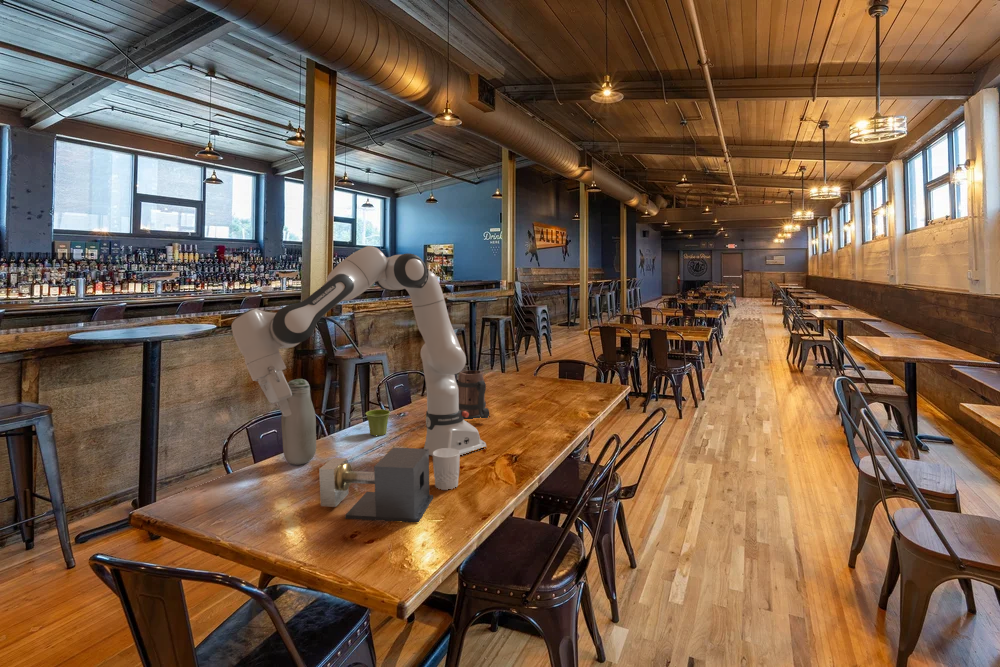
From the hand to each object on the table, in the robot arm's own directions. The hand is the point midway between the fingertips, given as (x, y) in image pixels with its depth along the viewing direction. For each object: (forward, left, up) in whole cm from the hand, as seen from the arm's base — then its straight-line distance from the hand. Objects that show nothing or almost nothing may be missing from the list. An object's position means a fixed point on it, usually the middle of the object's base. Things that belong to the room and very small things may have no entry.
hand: (287, 415), depth 133 cm
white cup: (-40, +16, -24) cm, 49 cm away
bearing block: (-21, +21, -23) cm, 37 cm away
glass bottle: (-8, -27, -24) cm, 37 cm away
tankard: (-83, -42, -24) cm, 96 cm away
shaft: (-16, +17, -22) cm, 32 cm away
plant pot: (-40, -43, -24) cm, 63 cm away
